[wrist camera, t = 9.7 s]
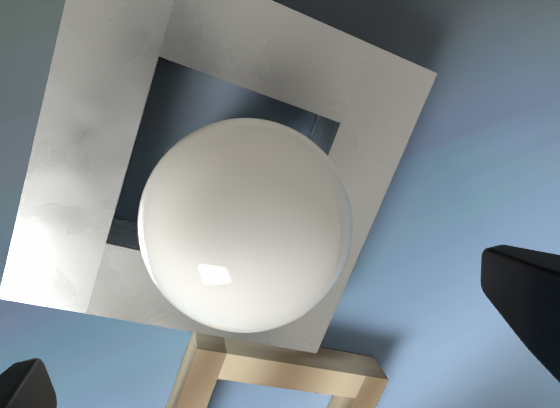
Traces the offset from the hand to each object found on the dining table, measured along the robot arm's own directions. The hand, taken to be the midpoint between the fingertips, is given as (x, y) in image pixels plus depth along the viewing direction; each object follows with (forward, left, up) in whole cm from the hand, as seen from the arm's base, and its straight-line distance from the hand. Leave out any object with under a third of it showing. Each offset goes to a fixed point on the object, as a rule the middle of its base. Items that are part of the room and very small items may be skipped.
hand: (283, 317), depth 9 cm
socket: (0, 0, -13) cm, 13 cm away
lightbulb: (0, 0, -13) cm, 13 cm away
